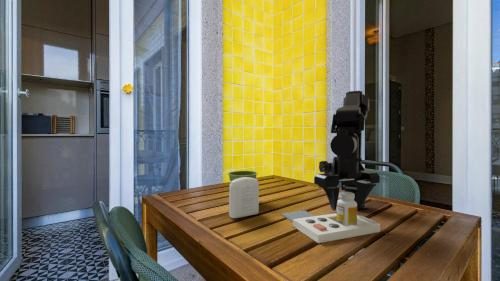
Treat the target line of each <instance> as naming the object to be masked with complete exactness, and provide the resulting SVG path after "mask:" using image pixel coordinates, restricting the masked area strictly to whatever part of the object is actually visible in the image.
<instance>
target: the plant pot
mask: <svg viewBox="0 0 500 281" xmlns="http://www.w3.org/2000/svg"><path fill="white" fill-rule="evenodd" d="M227 175H228V177H229V181H230V182H231V181H233V180H235V179H238V178H242V177H250V178H254V179H257V175H258V172H257V171H254V170H233V171H230V172H228V173H227Z"/></svg>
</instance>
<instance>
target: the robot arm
mask: <svg viewBox="0 0 500 281" xmlns="http://www.w3.org/2000/svg"><path fill="white" fill-rule="evenodd" d="M342 104H343V105H342V106H341V107H338V108H337V109H336V110H335V113H332V114H333V115H332V121H331V126H330V133H331V134H336V135H334V136H333V137H332V139H331V141H330V143H329V144H330V145H329V146H330V150H331V152H332V153H333V154H334V155H336V156H333V158H332V162H328V161H327V160H321V161H319V162H318V169H319V172H320V173H316V175H315V176H314V178H313V184H314V185H317V186H318V187H319V188H322V190H323V191H324V192H325V195H326V197H327V199H328V202H329V205H330V208H331V210H332V211H333V212H335V211H337V202H338V200H339V195H340V190H341V191H344V192H352V193H354V194H355V199H354V201H355V202H356V203H357V211H361V210H367V209H368V208H369V206H366V205H365V202H366V200H367V198H368V196H369V195H370V193H371V192H372V190H373V189H374V187H377V184H380V181H381V180H380V174H378V172H375V171H369V170H366V169H365V167H364V166H363V164H362V162H363V160H362V159H363V158H362V139H363V132H364V131H365V125H366V124H365V121H366V120H367V118H368V112H370V97H369V96H367V95H366V94H364V93H363V91H362V90H349V91H347V92H346V93H345V97H344V98H343V103H342ZM340 183H341V184H340ZM339 185H341V187H338V186H339Z"/></svg>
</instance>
